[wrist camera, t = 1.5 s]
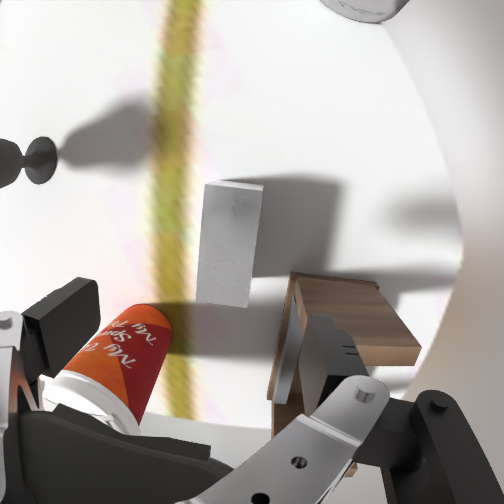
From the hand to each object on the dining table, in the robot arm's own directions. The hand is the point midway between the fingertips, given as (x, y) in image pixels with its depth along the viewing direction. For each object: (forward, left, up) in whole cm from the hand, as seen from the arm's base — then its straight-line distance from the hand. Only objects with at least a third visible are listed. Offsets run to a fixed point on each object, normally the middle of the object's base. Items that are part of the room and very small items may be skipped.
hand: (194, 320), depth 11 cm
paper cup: (+11, -8, -16) cm, 21 cm away
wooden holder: (+10, +9, -15) cm, 20 cm away
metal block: (0, 0, -16) cm, 16 cm away
